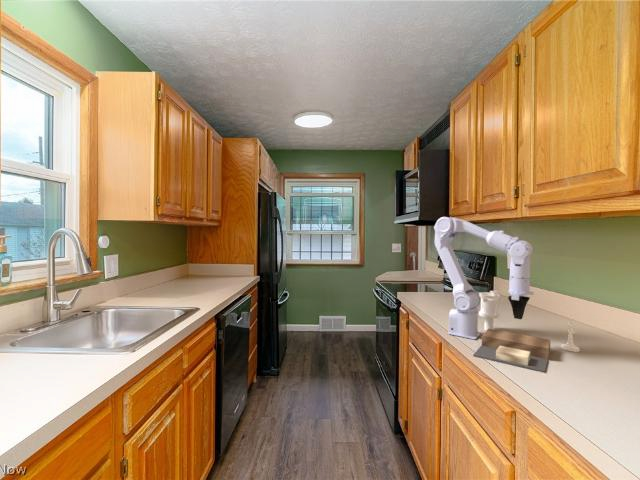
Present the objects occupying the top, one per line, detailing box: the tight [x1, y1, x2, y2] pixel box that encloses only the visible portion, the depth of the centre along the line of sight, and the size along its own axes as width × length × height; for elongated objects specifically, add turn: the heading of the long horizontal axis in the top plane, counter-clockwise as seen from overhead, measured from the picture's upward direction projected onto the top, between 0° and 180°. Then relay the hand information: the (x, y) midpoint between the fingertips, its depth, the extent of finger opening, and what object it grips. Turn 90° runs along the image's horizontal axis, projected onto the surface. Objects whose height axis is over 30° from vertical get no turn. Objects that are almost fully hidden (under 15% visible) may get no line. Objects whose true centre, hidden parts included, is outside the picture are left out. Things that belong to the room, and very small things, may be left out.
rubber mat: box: [472, 344, 549, 374], centre depth 98 cm, size 18×10×1 cm, turn 52°
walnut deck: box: [481, 328, 551, 360], centre depth 106 cm, size 18×10×4 cm, turn 52°
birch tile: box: [496, 346, 530, 366], centre depth 96 cm, size 8×6×2 cm
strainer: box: [478, 290, 501, 332], centre depth 125 cm, size 7×7×15 cm
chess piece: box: [560, 318, 580, 353], centre depth 106 cm, size 5×5×10 cm
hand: (518, 318), depth 108 cm, fingers closed
